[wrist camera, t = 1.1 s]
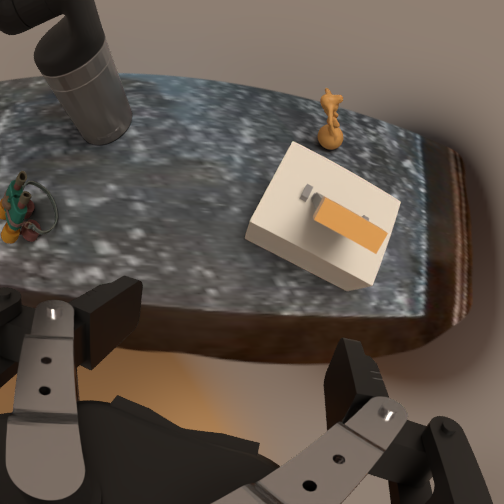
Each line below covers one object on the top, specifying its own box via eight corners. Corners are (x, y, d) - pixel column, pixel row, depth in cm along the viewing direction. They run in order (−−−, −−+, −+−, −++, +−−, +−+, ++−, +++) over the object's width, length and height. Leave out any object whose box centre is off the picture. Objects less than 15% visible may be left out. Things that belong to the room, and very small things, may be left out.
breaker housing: (346, 291, 42) (377, 284, 33) (244, 238, 43) (250, 218, 34) (374, 219, 45) (405, 198, 36) (281, 168, 45) (294, 136, 36)
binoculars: (38, 199, 43) (-12, 199, 34) (61, 162, 39) (6, 157, 30) (53, 246, 42) (-1, 252, 32) (78, 212, 38) (17, 213, 29)
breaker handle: (352, 226, 36) (376, 254, 25) (308, 202, 36) (313, 219, 25) (360, 212, 35) (387, 233, 24) (316, 187, 35) (325, 197, 24)
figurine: (340, 167, 46) (372, 126, 35) (303, 162, 46) (326, 118, 34) (336, 124, 48) (362, 79, 36) (301, 118, 47) (321, 70, 36)
